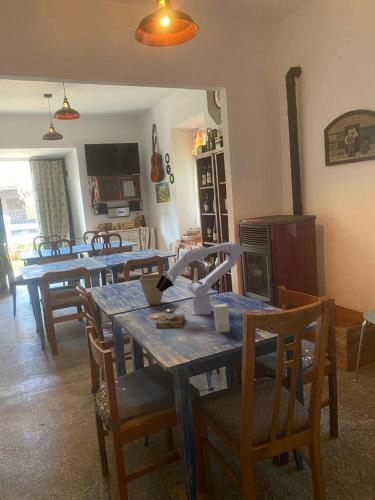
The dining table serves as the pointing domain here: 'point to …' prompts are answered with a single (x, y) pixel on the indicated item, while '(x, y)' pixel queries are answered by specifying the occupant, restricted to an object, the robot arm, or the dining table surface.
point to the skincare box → (221, 318)
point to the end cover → (170, 314)
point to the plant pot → (151, 288)
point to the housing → (170, 321)
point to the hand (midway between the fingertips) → (158, 289)
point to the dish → (156, 316)
